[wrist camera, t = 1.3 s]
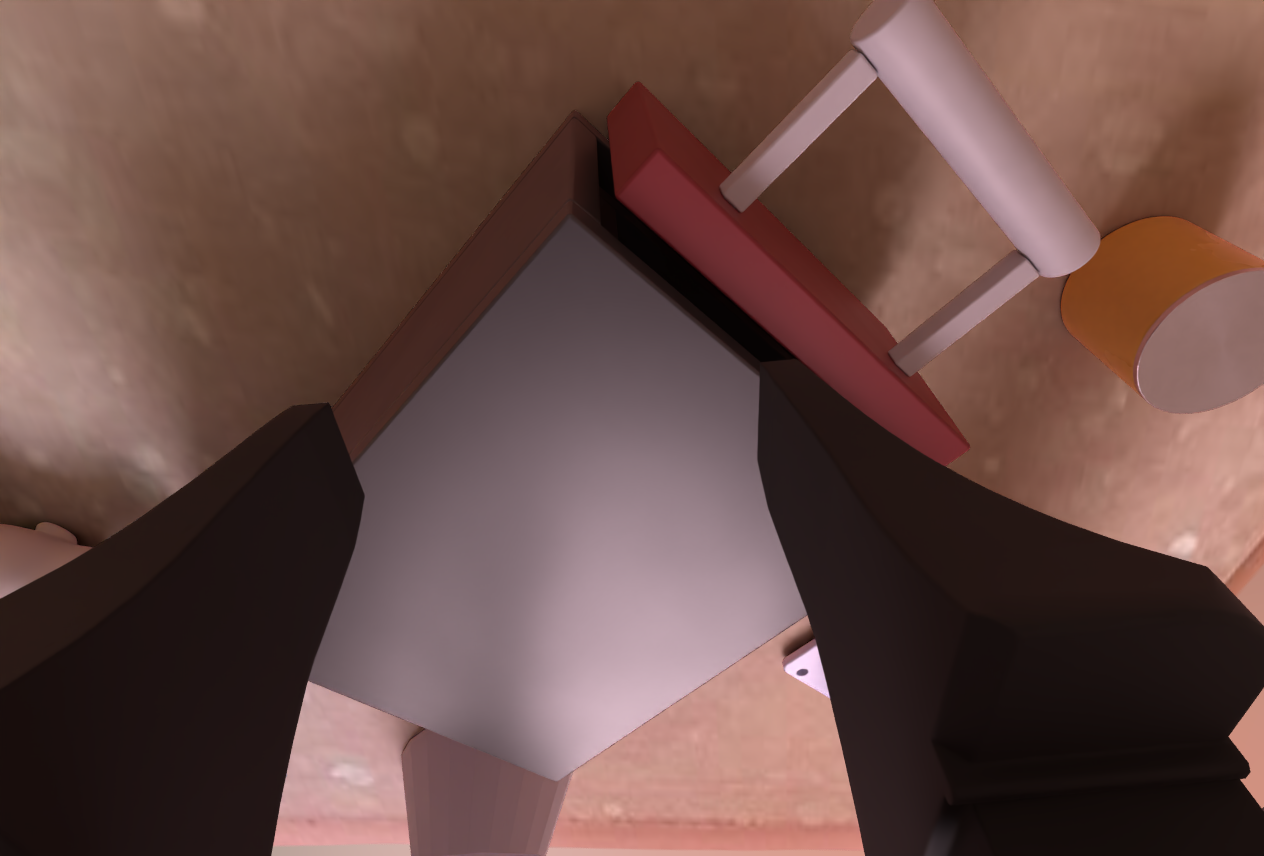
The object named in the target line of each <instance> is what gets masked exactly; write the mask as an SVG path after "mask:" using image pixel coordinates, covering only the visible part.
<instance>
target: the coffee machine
mask: <svg viewBox="0 0 1264 856" xmlns="http://www.w3.org/2000/svg"><path fill="white" fill-rule="evenodd" d="M599 186H600V187H601V188H602V189H603V190H605V191H606V192H607V193H608V194H609V195H610V196H611V197H612V198H614V199H615V200H616V201H617V202H618V203H619V204H620V205H621V206H623V207H624V208H625V209H626V210H627V211H628V212H629V213H630V214H632V215H633V216H634V217H635V218H636V219H637V220H638V221H640V222H641V223H642V224H643V225H644V226H645V227H646V228H647V229H649V230H650V231H651V232H652V233H653V234H654V235H655V236H656V237H658V238H659V239H660V240H661V241H662V242H663V243H664V244H666V245H667V246H668V247H669V248H670V249H671V250H672V251H673V252H675V253H676V254H677V255H678V256H679V257H680V258H681V259H682V260H684V261H685V262H686V263H687V264H688V265H689V266H690V267H691V268H693V269H694V270H695V271H696V272H697V273H698V274H699V275H701V276H702V277H703V278H704V279H705V280H706V281H707V282H708V283H710V284H711V285H712V286H713V287H714V288H715V289H716V290H717V291H719V292H720V293H721V294H722V295H723V296H724V297H725V298H726V299H728V300H729V301H730V302H731V303H732V304H733V305H734V306H736V307H737V308H738V309H739V310H740V311H741V312H742V313H743V314H745V315H746V316H747V317H748V318H749V319H750V320H751V321H752V322H754V323H755V324H756V325H757V326H758V327H759V328H760V329H761V330H763V331H764V332H765V333H766V334H767V335H768V336H769V337H771V338H772V339H773V340H774V341H775V342H776V343H777V344H778V345H780V346H781V347H782V348H783V349H784V350H785V351H786V352H787V353H789V354H790V355H791V356H792V357H793V358H794V359H797V358H796V357H794V356H793V355H792V354H791V353H790V352H789V351H788V350H787V349H785V348H784V347H783V346H782V345H781V344H780V343H779V342H778V341H776V340H775V339H774V338H773V337H772V336H771V335H770V334H768V333H767V332H766V331H765V330H764V329H763V328H762V327H761V326H759V325H758V324H757V323H756V322H755V321H754V320H753V319H752V318H750V317H749V316H748V315H747V314H746V313H745V312H744V311H743V310H741V309H740V308H739V307H738V306H737V305H736V304H735V303H734V302H732V301H731V300H730V299H729V298H728V297H727V296H726V295H725V294H723V293H722V292H721V291H720V290H719V289H718V288H717V287H716V286H714V285H713V284H712V283H711V282H710V281H709V280H708V279H707V278H705V277H704V276H703V275H702V274H701V273H700V272H699V271H698V270H696V269H695V268H694V267H693V266H692V265H691V264H690V263H688V262H687V261H686V260H685V259H684V258H683V257H682V256H681V255H679V254H678V253H677V252H676V251H675V250H674V249H673V248H672V247H670V246H669V245H668V244H667V243H666V242H665V241H664V240H663V239H661V238H660V237H659V236H658V235H657V234H656V233H655V232H654V231H652V230H651V229H650V228H649V227H648V226H647V225H646V224H645V223H643V222H642V221H641V220H640V219H639V218H638V217H637V216H636V215H634V214H633V213H632V212H631V211H630V210H629V209H628V208H627V207H625V206H624V205H623V204H622V203H621V202H620V201H619V200H618V199H616V197H615V192H614V182H613V173H612V163H611V154H610V144H609V141H608V140H607V139H606V138H605V137H604V136H603V135H602V134H601V133H600V132H599V131H598V130H597V129H595V128H594V127H593V126H592V125H591V124H590V123H589V122H588V121H587V120H586V119H585V118H584V117H583V116H581V115H580V114H579V113H578V112H577V111H575V110H574V111H572V112H571V114H570V115H569V116H568V117H567V119H566V120H565V121H564V122H563V124H562V125H561V126H560V127H559V129H558V130H557V131H556V132H555V133H554V135H553V136H552V137H551V138H550V140H549V141H548V142H547V143H546V145H545V146H544V147H543V148H542V150H541V151H540V152H539V153H538V154H537V156H536V157H535V158H534V159H533V161H532V162H531V163H530V164H529V166H528V167H527V168H526V169H525V171H524V172H523V173H522V174H521V175H520V177H519V178H518V179H517V180H516V182H515V183H514V184H513V185H512V187H511V188H510V189H509V190H508V191H507V193H506V194H505V195H504V196H503V198H502V199H501V200H500V201H499V203H498V204H497V205H496V206H495V208H494V209H493V210H492V211H491V212H490V214H489V215H488V216H487V217H486V219H485V220H484V221H483V222H482V224H481V225H480V226H479V227H478V229H477V230H476V231H475V232H474V233H473V235H472V236H471V237H470V238H469V240H468V241H467V242H466V243H465V245H464V246H463V247H462V248H461V250H460V251H459V252H458V253H457V254H456V256H455V257H454V258H453V259H452V261H451V262H450V263H449V264H448V266H447V267H446V268H445V269H444V271H443V272H442V273H441V274H440V275H439V277H438V278H437V279H436V280H435V282H434V283H433V284H432V285H431V287H430V288H429V289H428V290H427V292H426V293H425V294H424V295H423V296H422V298H421V299H420V300H419V301H418V303H417V304H416V305H415V306H414V308H413V309H412V310H411V311H410V312H409V314H408V315H407V316H406V317H405V319H404V320H403V321H402V322H401V324H400V325H399V326H398V327H397V329H396V330H395V331H394V332H393V333H392V335H391V336H390V337H389V338H388V340H387V341H386V342H385V343H384V345H383V346H382V347H381V348H380V350H379V351H378V352H377V353H376V354H375V356H374V357H373V358H372V359H371V361H370V362H369V363H368V364H367V366H366V367H365V368H364V369H363V371H362V372H361V373H360V374H359V375H358V377H357V378H356V379H355V380H354V382H353V383H352V384H351V385H350V387H349V388H348V389H347V390H346V392H345V393H344V394H343V395H342V396H341V398H340V399H339V400H338V401H337V403H336V404H335V405H334V406H333V408H332V412H333V414H334V417H335V419H336V422H337V424H338V427H339V430H340V432H341V435H342V437H343V440H344V443H345V445H346V448H347V450H348V453H349V455H350V458H351V461H352V463H353V466H354V468H355V471H356V474H357V476H358V479H359V481H360V484H361V486H362V489H363V492H364V494H365V499H364V504H363V510H362V516H361V521H360V526H359V531H358V536H357V541H356V545H355V549H354V552H353V555H352V558H351V561H350V563H349V566H348V569H347V572H346V575H345V578H344V580H343V583H342V586H341V589H340V592H339V594H338V597H337V600H336V603H335V605H334V608H333V611H332V614H331V616H330V619H329V622H328V625H327V627H326V630H325V633H324V636H323V638H322V641H321V644H320V647H319V649H318V652H317V655H316V657H315V660H314V663H313V667H312V670H311V673H310V676H309V679H308V681H310V682H312V683H315V684H317V685H320V686H322V687H325V688H327V689H329V690H332V691H334V692H337V693H339V694H342V695H344V696H347V697H349V698H352V699H354V700H356V701H359V702H361V703H364V704H366V705H369V706H371V707H374V708H376V709H379V710H381V711H383V712H386V713H388V714H391V715H393V716H396V717H398V718H401V719H403V720H406V721H408V722H410V723H413V724H415V725H418V726H420V727H423V728H425V729H428V730H430V731H433V732H435V733H437V734H440V735H442V736H445V737H447V738H450V739H452V740H455V741H457V742H460V743H462V744H464V745H467V746H469V747H472V748H474V749H477V750H479V751H482V752H484V753H487V754H489V755H491V756H494V757H496V758H499V759H501V760H504V761H506V762H509V763H511V764H514V765H516V766H518V767H521V768H523V769H526V770H528V771H531V772H533V773H536V774H538V775H541V776H543V777H545V778H548V779H550V780H553V781H555V782H557V781H559V780H561V779H562V778H564V777H565V776H567V775H568V774H570V773H571V772H573V771H574V770H576V769H577V768H579V767H580V766H582V765H583V764H585V763H586V762H588V761H589V760H591V759H592V758H594V757H595V756H597V755H598V754H600V753H601V752H603V751H604V750H606V749H607V748H609V747H610V746H612V745H613V744H615V743H616V742H618V741H619V740H621V739H622V738H624V737H625V736H627V735H628V734H630V733H631V732H633V731H634V730H636V729H637V728H639V727H640V726H642V725H643V724H645V723H646V722H648V721H649V720H651V719H652V718H654V717H655V716H657V715H658V714H660V713H661V712H663V711H664V710H666V709H667V708H669V707H670V706H672V705H673V704H675V703H676V702H678V701H679V700H681V699H682V698H684V697H685V696H687V695H688V694H690V693H691V692H693V691H694V690H696V689H697V688H699V687H700V686H702V685H703V684H705V683H706V682H708V681H709V680H711V679H712V678H714V677H715V676H717V675H718V674H720V673H721V672H723V671H724V670H726V669H727V668H729V667H730V666H732V665H733V664H735V663H736V662H738V661H739V660H741V659H742V658H744V657H745V656H747V655H748V654H750V653H751V652H753V651H754V650H756V649H757V648H759V647H760V646H762V645H763V644H765V643H766V642H768V641H769V640H771V639H772V638H774V637H775V636H777V635H778V634H780V633H781V632H783V631H784V630H786V629H787V628H789V627H790V626H792V625H793V624H795V623H796V622H798V621H799V620H801V619H802V618H804V617H805V616H807V612H806V610H805V607H804V604H803V602H802V599H801V596H800V594H799V591H798V588H797V586H796V583H795V580H794V578H793V575H792V572H791V570H790V567H789V564H788V562H787V559H786V556H785V554H784V551H783V548H782V546H781V543H780V540H779V537H778V535H777V532H776V529H775V526H774V524H773V521H772V518H771V515H770V513H769V510H768V506H767V502H766V498H765V493H764V489H763V485H762V480H761V475H760V471H759V466H758V461H757V445H758V414H759V383H760V361H759V360H758V359H757V358H755V357H754V356H753V355H752V354H751V353H750V352H748V351H747V350H746V349H745V348H744V347H743V346H741V345H740V344H739V343H738V342H737V341H736V340H734V339H733V338H732V337H731V336H730V335H729V334H727V333H726V332H725V331H724V330H723V329H722V328H720V327H719V326H718V325H717V324H716V323H714V322H713V321H712V320H711V319H710V318H709V317H707V316H706V315H705V314H704V313H703V312H702V311H700V310H699V309H698V308H697V307H696V306H695V305H693V304H692V303H691V302H690V301H689V300H688V299H686V298H685V297H684V296H683V295H682V294H681V293H679V292H678V291H677V290H676V289H675V288H674V287H672V286H671V285H670V284H669V283H668V282H667V281H665V280H664V279H663V278H662V277H661V276H660V275H658V274H657V273H656V272H655V271H654V270H653V269H651V268H650V267H649V266H648V265H647V264H646V263H644V262H643V261H642V260H641V259H640V258H639V257H637V256H636V255H635V254H634V253H633V252H632V251H630V250H629V249H628V248H627V247H626V246H625V245H623V244H622V243H621V242H620V241H619V240H618V239H616V238H615V237H614V236H613V235H612V234H611V233H609V232H608V231H607V230H606V229H605V228H603V227H602V226H601V215H600V196H599ZM797 360H798V359H797Z"/></svg>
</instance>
